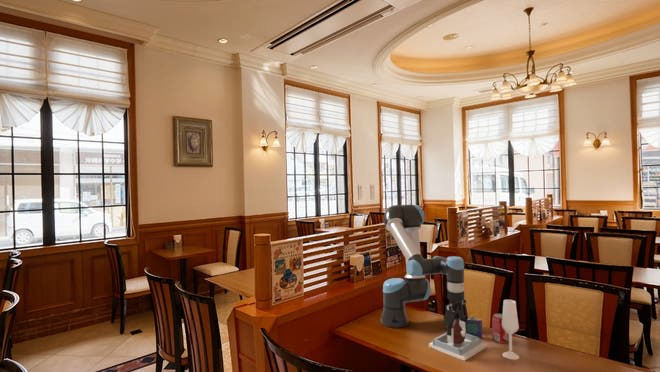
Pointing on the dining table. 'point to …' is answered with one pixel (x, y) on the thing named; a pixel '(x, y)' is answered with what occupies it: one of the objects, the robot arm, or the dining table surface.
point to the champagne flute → (510, 325)
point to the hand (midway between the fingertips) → (456, 338)
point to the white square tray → (458, 346)
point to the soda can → (498, 329)
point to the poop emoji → (458, 332)
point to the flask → (474, 326)
